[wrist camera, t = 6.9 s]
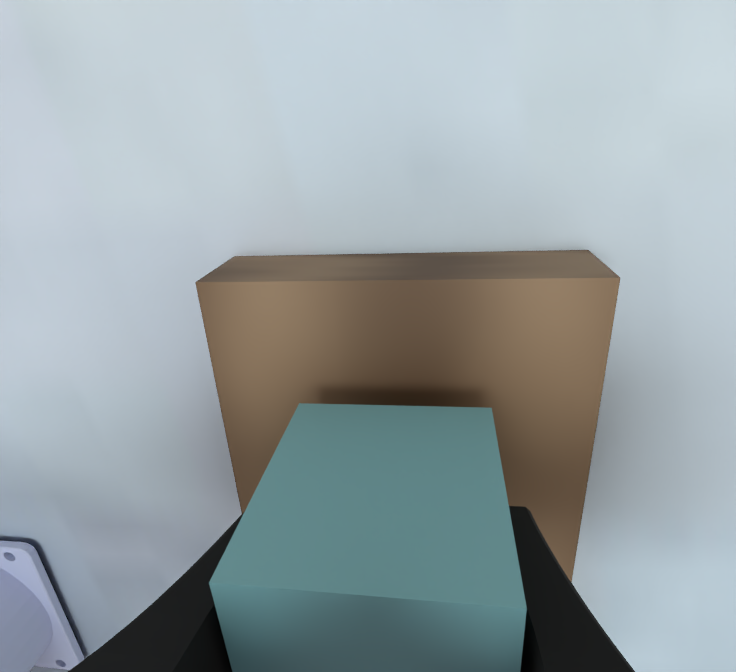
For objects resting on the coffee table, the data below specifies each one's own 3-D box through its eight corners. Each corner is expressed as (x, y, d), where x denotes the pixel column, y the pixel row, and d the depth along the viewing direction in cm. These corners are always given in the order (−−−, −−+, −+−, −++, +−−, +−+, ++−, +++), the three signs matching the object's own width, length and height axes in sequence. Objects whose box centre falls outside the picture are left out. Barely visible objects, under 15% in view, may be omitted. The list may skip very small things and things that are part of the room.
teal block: (317, 543, 13) (255, 757, 9) (298, 403, 12) (208, 582, 7) (484, 554, 13) (507, 792, 8) (491, 407, 11) (526, 608, 6)
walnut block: (280, 506, 19) (253, 571, 16) (239, 253, 15) (195, 282, 12) (548, 521, 17) (569, 595, 15) (583, 246, 13) (620, 277, 11)
